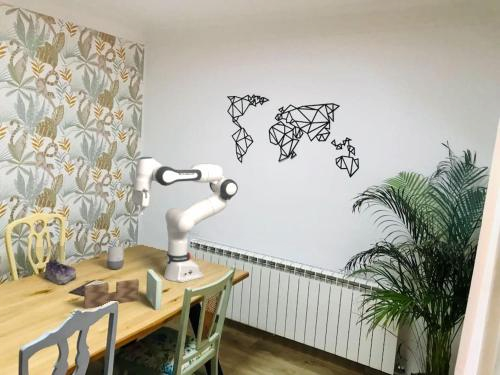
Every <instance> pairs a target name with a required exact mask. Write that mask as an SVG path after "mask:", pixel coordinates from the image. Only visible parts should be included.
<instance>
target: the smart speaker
mask: <svg viewBox="0 0 500 375" xmlns="http://www.w3.org/2000/svg"><path fill="white" fill-rule="evenodd" d="M124 264H125V256H124V246H123V245H121V246H120V245H119V246H113V247H108V248H107V258H106V265H107V268H108V269H110V270H112V271H117V270H118V271H119V270H120V269H122V268H123V267H124Z"/></svg>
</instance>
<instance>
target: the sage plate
mask: <svg viewBox="0 0 500 375" xmlns="http://www.w3.org/2000/svg"><path fill="white" fill-rule="evenodd" d="M145 286H146V288H145V289H146V290H145V291H146V292H145V297H146V299H147V300H148V301H149V302H151V305H152V307H153V309H154V310H155V311H158V310H162V294H163V292H162V291H163V280H162V279H161V278H160V276H158V274H157V273H156V272H155V271H154V270H153V269H152V268H150V269H146V285H145Z"/></svg>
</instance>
